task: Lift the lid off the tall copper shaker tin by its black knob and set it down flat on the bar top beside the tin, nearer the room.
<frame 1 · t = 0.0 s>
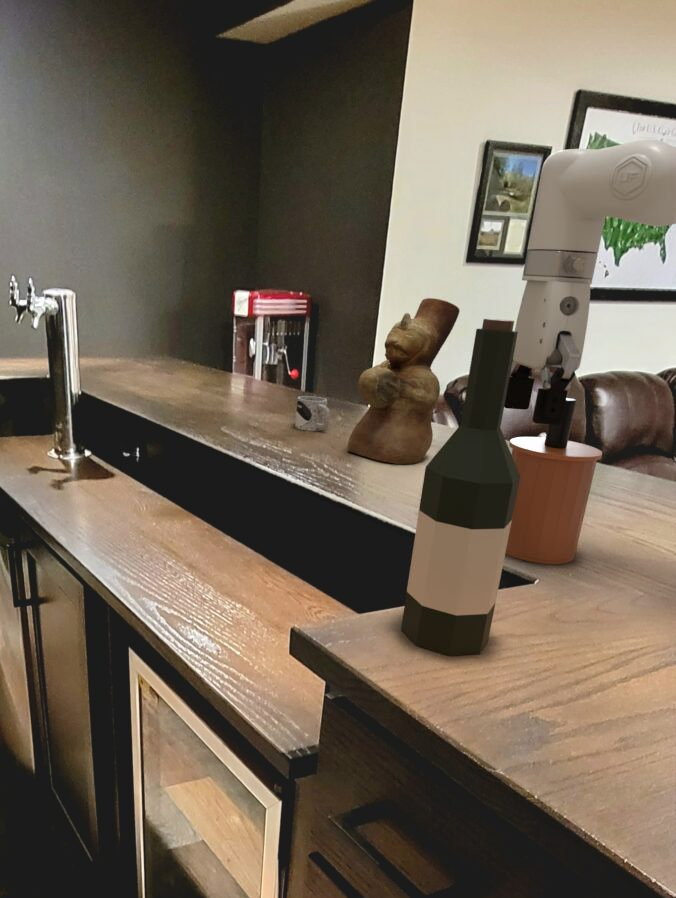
hand: (530, 415, 89), 18 cm above the counter, tool pointing down, fingers open, 9 cm apart
ceramic vessel: (397, 454, 145), on the counter
shaker lid: (554, 450, 91), point 13 cm above the counter, touching shaker
wine bottle: (443, 637, 71), on the counter
mug: (313, 430, 163), on the counter
shaker: (533, 550, 96), on the counter
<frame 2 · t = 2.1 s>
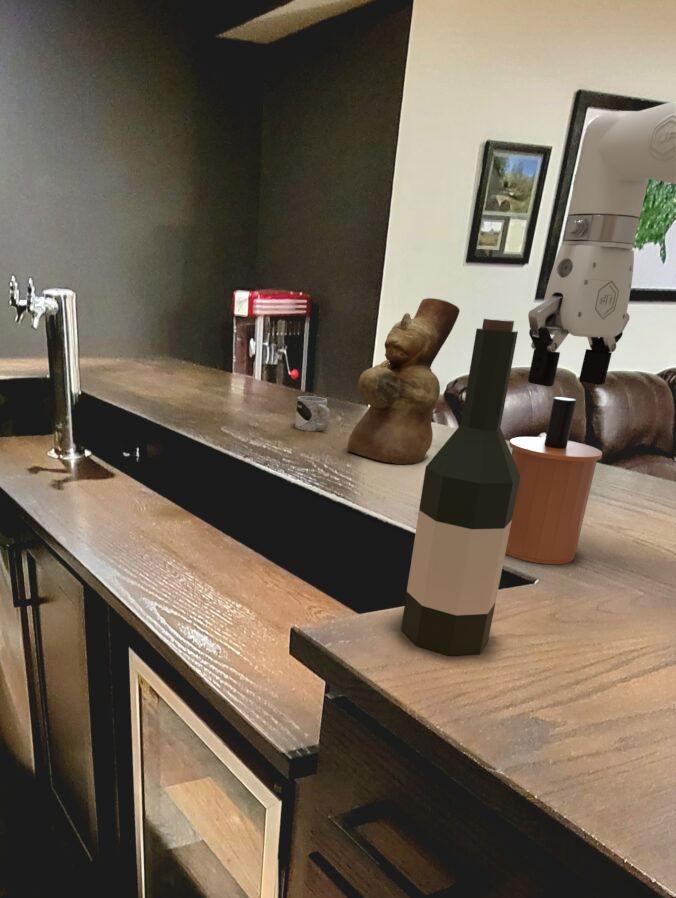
hand: (566, 383, 89), 22 cm above the counter, tool pointing down, fingers open, 9 cm apart
nothing on the counter moved.
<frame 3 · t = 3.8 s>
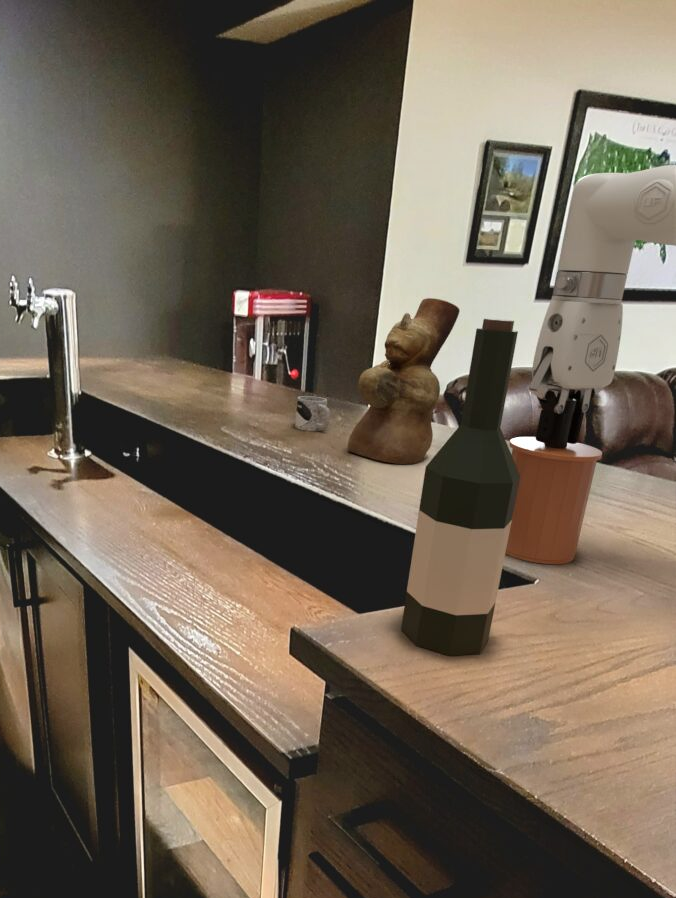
hand: (556, 441, 91), 15 cm above the counter, tool pointing down, fingers closed on shaker lid, 2 cm apart
shaker lid: (554, 450, 91), point 14 cm above the counter, touching gripper, shaker
everything else where it was.
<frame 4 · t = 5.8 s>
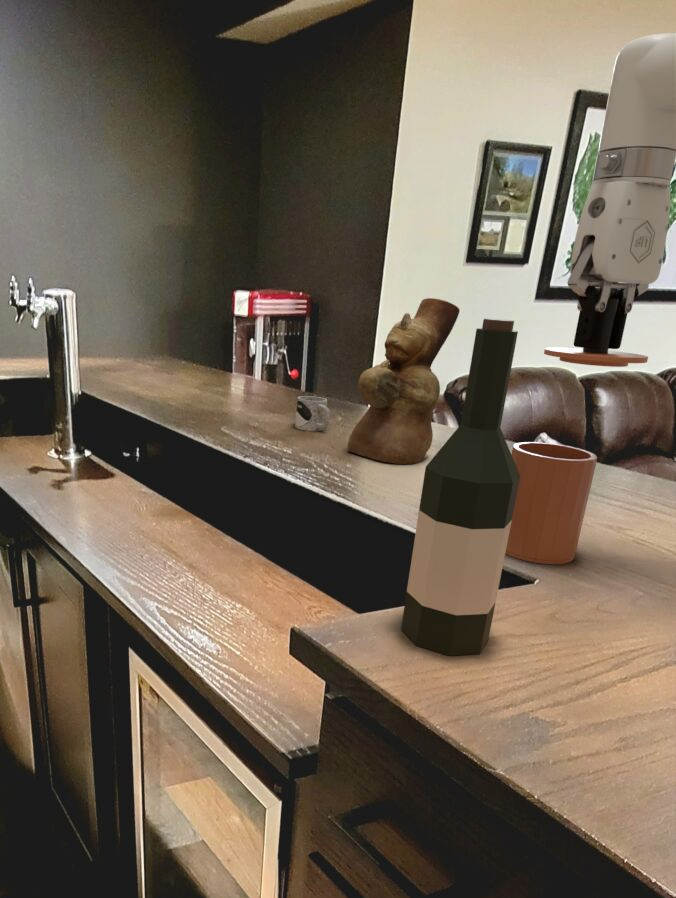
hand: (596, 346, 83), 27 cm above the counter, tool pointing down, fingers closed on shaker lid, 2 cm apart
shaker lid: (594, 357, 83), point 26 cm above the counter, touching gripper
everything else where it was.
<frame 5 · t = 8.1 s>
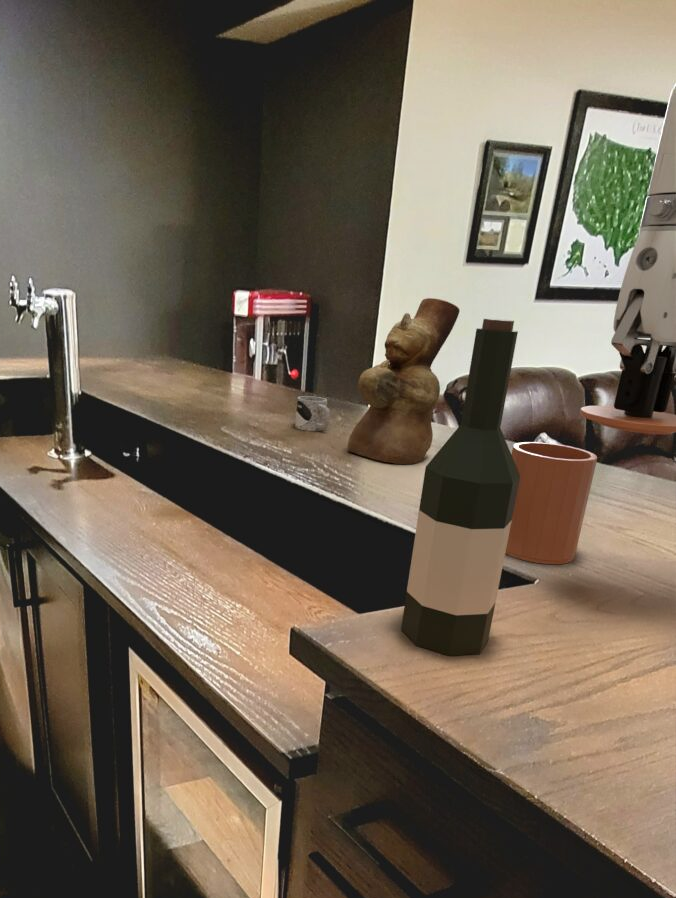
hand: (639, 408, 74), 22 cm above the counter, tool pointing down, fingers closed on shaker lid, 2 cm apart
shaker lid: (636, 421, 75), point 20 cm above the counter, touching gripper
everything else where it was.
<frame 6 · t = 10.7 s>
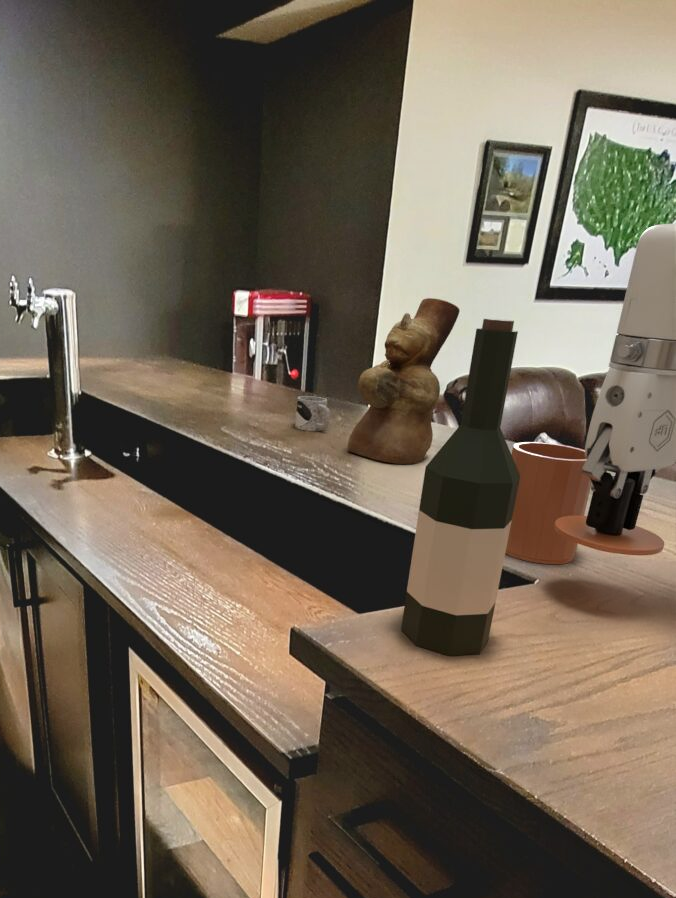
hand: (609, 526, 79), 9 cm above the counter, tool pointing down, fingers closed on shaker lid, 2 cm apart
shaker lid: (606, 536, 79), point 7 cm above the counter, touching gripper
everything else where it was.
when the fingers open (2 cm above the counter, at t = 12.4 s): shaker lid stays where it is, point 1 cm above the counter.
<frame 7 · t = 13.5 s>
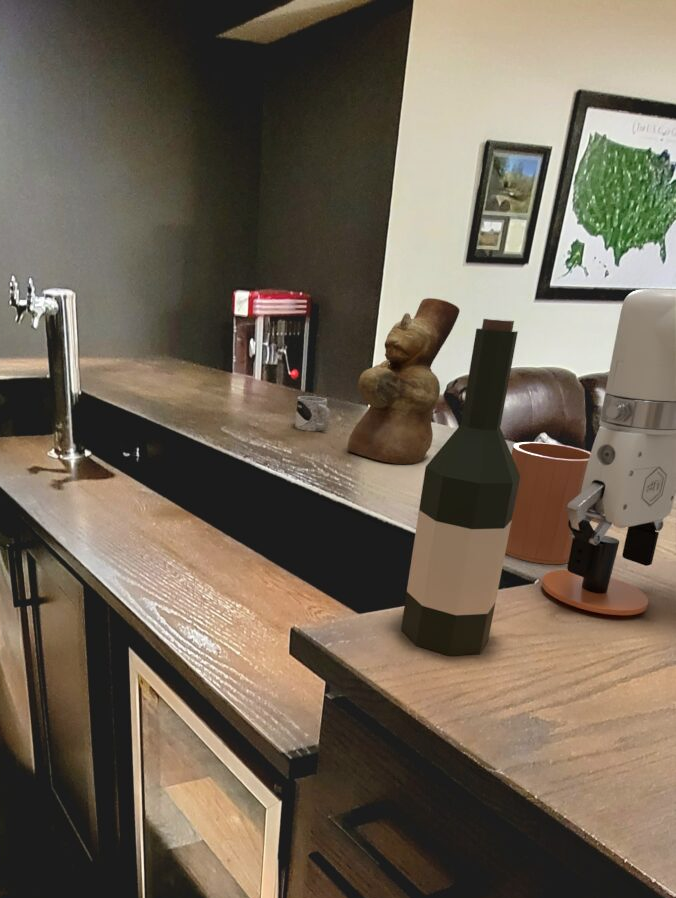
hand: (609, 568, 80), 4 cm above the counter, tool pointing down, fingers open, 9 cm apart
shaker lid: (593, 593, 81), point 1 cm above the counter
everything else where it was.
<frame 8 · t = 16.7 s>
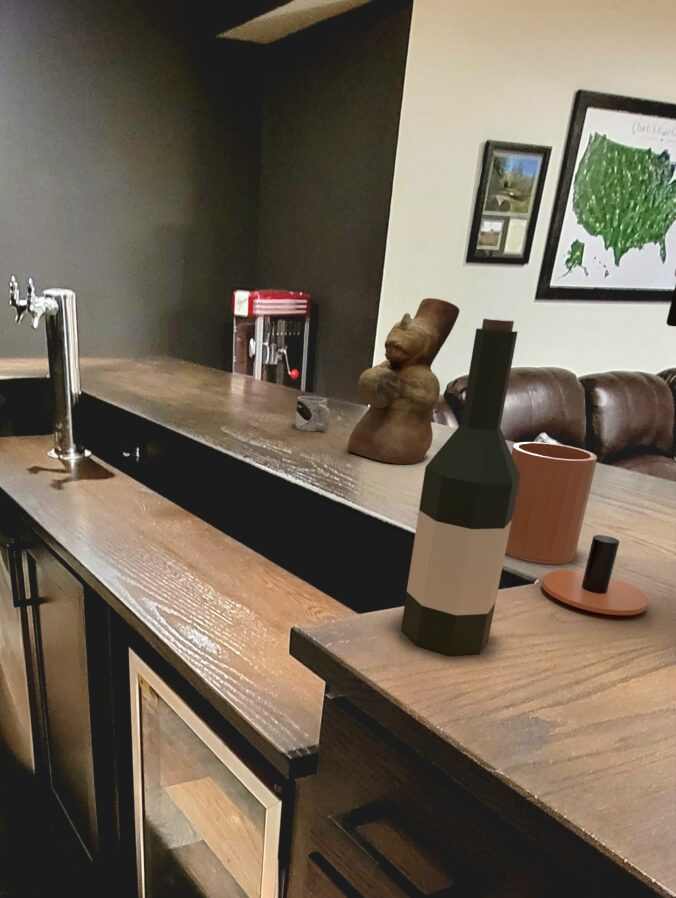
nothing on the counter moved.
at the end: shaker lid inside the target area (0.3 cm from its centre), point 0.6 cm above the counter; shaker lid tilted 0°; the gripper is holding nothing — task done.
